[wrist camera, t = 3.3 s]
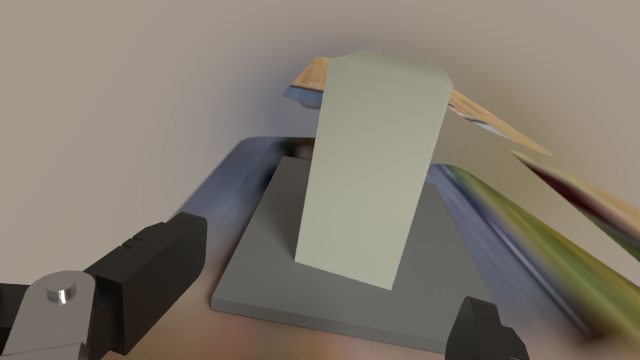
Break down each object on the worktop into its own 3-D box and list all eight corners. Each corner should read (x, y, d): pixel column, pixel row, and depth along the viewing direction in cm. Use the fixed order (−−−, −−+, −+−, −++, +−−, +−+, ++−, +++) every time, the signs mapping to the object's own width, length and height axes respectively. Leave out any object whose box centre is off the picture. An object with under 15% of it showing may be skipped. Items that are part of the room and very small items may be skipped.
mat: (282, 162, 40) (283, 155, 40) (432, 191, 40) (434, 184, 40) (210, 309, 20) (211, 297, 19) (516, 367, 20) (521, 356, 19)
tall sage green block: (391, 290, 22) (453, 85, 18) (294, 261, 23) (329, 59, 19) (402, 204, 34) (442, 65, 29) (336, 186, 35) (364, 49, 30)
